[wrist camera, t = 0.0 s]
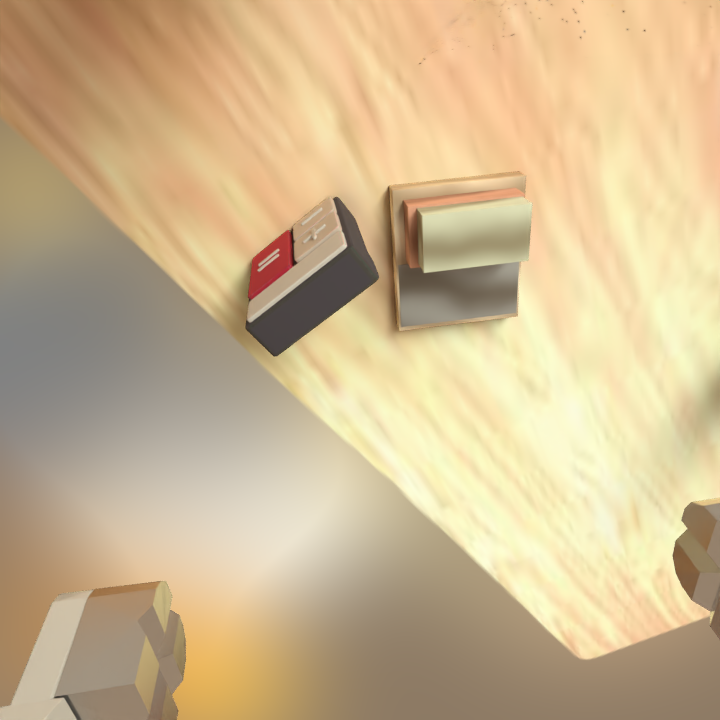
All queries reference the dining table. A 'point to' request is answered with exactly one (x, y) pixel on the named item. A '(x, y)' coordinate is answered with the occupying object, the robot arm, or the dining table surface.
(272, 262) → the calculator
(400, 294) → the sticky note pad set
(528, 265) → the dining table surface
